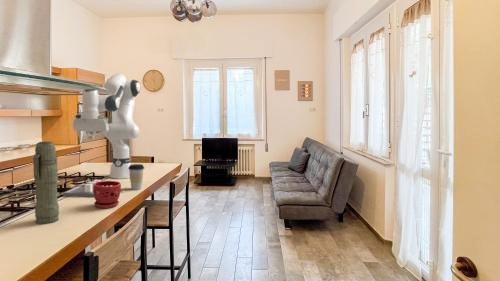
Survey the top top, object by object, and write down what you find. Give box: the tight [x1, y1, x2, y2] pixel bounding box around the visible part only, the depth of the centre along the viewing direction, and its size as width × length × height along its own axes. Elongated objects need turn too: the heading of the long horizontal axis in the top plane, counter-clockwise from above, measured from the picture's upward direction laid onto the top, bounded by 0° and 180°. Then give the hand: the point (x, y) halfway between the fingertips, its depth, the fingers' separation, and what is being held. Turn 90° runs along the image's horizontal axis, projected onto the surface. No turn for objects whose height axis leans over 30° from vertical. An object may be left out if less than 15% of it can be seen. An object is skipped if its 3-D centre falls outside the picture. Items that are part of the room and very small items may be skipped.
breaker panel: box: [62, 185, 98, 198], centre depth 196 cm, size 16×18×2 cm
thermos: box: [32, 141, 60, 225], centre depth 146 cm, size 9×12×35 cm
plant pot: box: [93, 180, 122, 209], centre depth 172 cm, size 13×13×12 cm
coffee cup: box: [128, 163, 145, 191], centre depth 209 cm, size 9×9×15 cm
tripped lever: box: [84, 183, 92, 193], centre depth 190 cm, size 3×3×4 cm
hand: (91, 138), depth 203 cm, fingers closed
